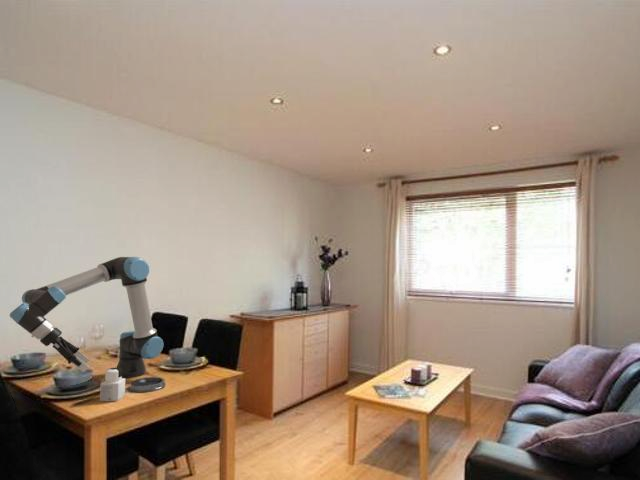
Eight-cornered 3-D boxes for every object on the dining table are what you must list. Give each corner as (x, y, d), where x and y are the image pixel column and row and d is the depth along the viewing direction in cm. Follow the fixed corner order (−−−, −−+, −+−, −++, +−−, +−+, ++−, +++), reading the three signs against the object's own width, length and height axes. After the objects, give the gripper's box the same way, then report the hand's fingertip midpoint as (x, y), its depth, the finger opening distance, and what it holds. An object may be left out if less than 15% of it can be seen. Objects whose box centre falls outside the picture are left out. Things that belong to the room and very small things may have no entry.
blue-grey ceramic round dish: (122, 390, 184) (122, 385, 184) (143, 380, 200) (143, 375, 200) (152, 393, 181) (153, 387, 182) (171, 383, 197) (172, 377, 197)
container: (107, 395, 178) (108, 366, 179) (125, 395, 178) (126, 366, 179) (99, 401, 170) (100, 371, 171) (117, 401, 171) (119, 371, 172)
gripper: (42, 335, 172) (80, 365, 179) (34, 346, 151) (78, 380, 157) (57, 322, 175) (94, 352, 182) (52, 331, 154) (93, 365, 160)
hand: (87, 365), depth 170 cm, fingers open, 13 cm apart
